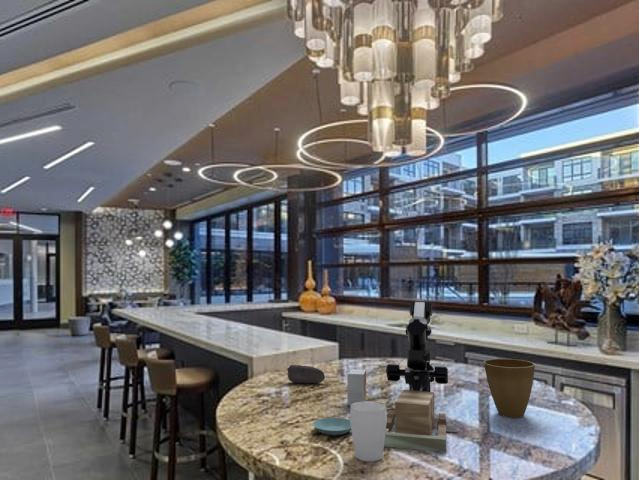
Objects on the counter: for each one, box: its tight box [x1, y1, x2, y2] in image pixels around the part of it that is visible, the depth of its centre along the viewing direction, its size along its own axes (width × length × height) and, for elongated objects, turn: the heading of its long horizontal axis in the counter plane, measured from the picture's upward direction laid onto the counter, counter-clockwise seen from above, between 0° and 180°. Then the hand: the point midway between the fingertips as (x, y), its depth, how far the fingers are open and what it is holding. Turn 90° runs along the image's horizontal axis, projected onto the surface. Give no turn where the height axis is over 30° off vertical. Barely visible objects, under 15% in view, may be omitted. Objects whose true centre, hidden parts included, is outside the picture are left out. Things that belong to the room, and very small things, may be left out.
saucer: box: [312, 417, 352, 436], centre depth 134 cm, size 12×12×2 cm
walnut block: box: [394, 389, 435, 436], centre depth 136 cm, size 14×9×9 cm, turn 160°
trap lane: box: [384, 409, 458, 453], centre depth 133 cm, size 26×23×3 cm
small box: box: [347, 368, 367, 407], centre depth 163 cm, size 8×6×10 cm
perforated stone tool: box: [286, 364, 326, 384], centre depth 191 cm, size 15×5×7 cm, turn 77°
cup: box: [349, 400, 387, 463], centre depth 116 cm, size 9×9×12 cm
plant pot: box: [483, 358, 536, 419], centre depth 149 cm, size 15×15×16 cm
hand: (416, 398), depth 143 cm, fingers closed
